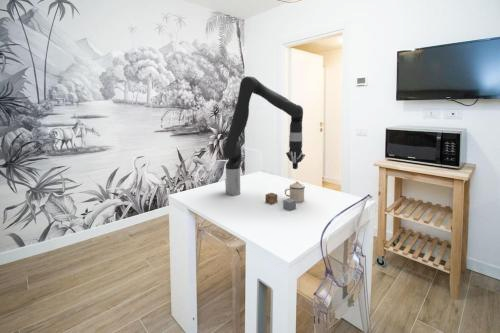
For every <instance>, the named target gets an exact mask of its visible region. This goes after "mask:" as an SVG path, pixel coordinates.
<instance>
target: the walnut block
mask: <svg viewBox="0 0 500 333" xmlns="http://www.w3.org/2000/svg"><path fill="white" fill-rule="evenodd" d="M265 203H266V204H270V205H273V204H276V203H278V194H277V193H274V192H268V193H266V194H265Z"/></svg>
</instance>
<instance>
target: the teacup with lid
mask: <svg viewBox="0 0 500 333" xmlns="http://www.w3.org/2000/svg"><path fill="white" fill-rule="evenodd" d="M287 191H289V194H287ZM284 194H285V196H286V197H289V198H290V199H293V200H296V203H302V202H304V201H305V185H304V184H302V183H300V181H298V180H297V181H295V182H294V183H291V184H290V185H289V188H286V189H285V190H284Z"/></svg>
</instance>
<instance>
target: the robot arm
mask: <svg viewBox="0 0 500 333" xmlns="http://www.w3.org/2000/svg"><path fill="white" fill-rule="evenodd" d="M253 94H255V95H257V96H259V97H262V98H263V99H264V100H266V102H268V103H269V104H270V105H273V107H276V108H277V109H279V110H281V111H283V112H284V113H286V114H287V115H289V116H290V124H289V136H288V137H289V138H288V139H289V142H288V144H289V145H288V148H289V149H288V150H289V151H288V152H285V154H286V156H287V158H288V160H289V162H292V169H294V170H297V169H298V167H299V166H298V165H299V163H301V162H302V161H303V160H304V158H305V156H306V154H305V153H303V150H302V148H303V116H304V108H303V106H302V105H299V104H296V103H294V102H293V101H291V100H290V99H288V98H286V97H285V96H284V95H281V94H279V92H278V93H277V92H276V91H274V90H272V89H270V88H268V87H267V86H265V85H264V84H263V83H262V82H261V81H259V79H257V78H256V77H254V76H250V75H249V76H244V77H243V78H242V79H241V81H240V83H239V90H238V97H237V100H236V104H235V108H234V111H233V115H232V118H231V123H230V127H229V130H228V134H227V138H226V140H225V142H224V145H223V148H222V153H223V156H224V158H226V159H228V160H227V162H226V163H225V180H224V181H225V193H226V194H227V196H238V195H240V194H241V163H242V147H241V146H240V144H239V143H238V141H239V139H240V137H241V135H242V133H243V132H244V130H245V129H246V127H247V124H248V119H249V116H250V101H251V98H252V95H253Z"/></svg>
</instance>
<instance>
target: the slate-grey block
mask: <svg viewBox="0 0 500 333" xmlns="http://www.w3.org/2000/svg"><path fill="white" fill-rule="evenodd" d="M282 202H283V204H282V208H283V210H286V211H288V212H291V211H293V210H296V209H297V207H296V206H297V202H296V200H293V199H290V197H289V198H286V199H283V200H282Z"/></svg>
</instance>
